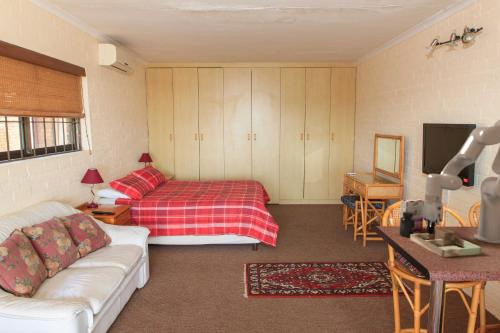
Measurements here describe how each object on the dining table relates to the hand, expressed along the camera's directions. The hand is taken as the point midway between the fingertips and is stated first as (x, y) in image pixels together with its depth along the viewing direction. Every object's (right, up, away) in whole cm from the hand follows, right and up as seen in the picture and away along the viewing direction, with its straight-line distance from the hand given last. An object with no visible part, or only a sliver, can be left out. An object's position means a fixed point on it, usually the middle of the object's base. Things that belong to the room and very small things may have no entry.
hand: (430, 233), depth 182 cm
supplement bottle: (-12, -1, +1) cm, 12 cm away
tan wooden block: (+2, -3, -9) cm, 10 cm away
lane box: (-1, -3, -15) cm, 16 cm away
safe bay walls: (0, -4, -21) cm, 22 cm away
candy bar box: (-5, 0, +12) cm, 12 cm away
